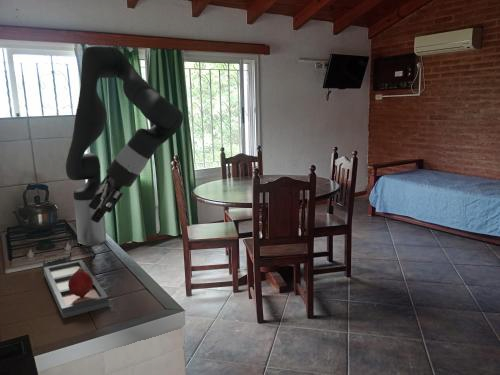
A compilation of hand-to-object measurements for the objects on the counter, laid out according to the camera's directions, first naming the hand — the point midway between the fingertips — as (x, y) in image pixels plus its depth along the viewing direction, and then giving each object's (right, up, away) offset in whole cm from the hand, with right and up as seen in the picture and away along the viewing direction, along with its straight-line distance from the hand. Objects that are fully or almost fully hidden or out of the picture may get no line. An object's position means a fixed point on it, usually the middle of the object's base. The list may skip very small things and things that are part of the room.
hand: (92, 214), depth 109 cm
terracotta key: (-2, -22, -3) cm, 22 cm away
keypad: (-7, -21, +5) cm, 23 cm away
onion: (-2, -22, -3) cm, 22 cm away
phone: (-22, -18, +26) cm, 38 cm away
